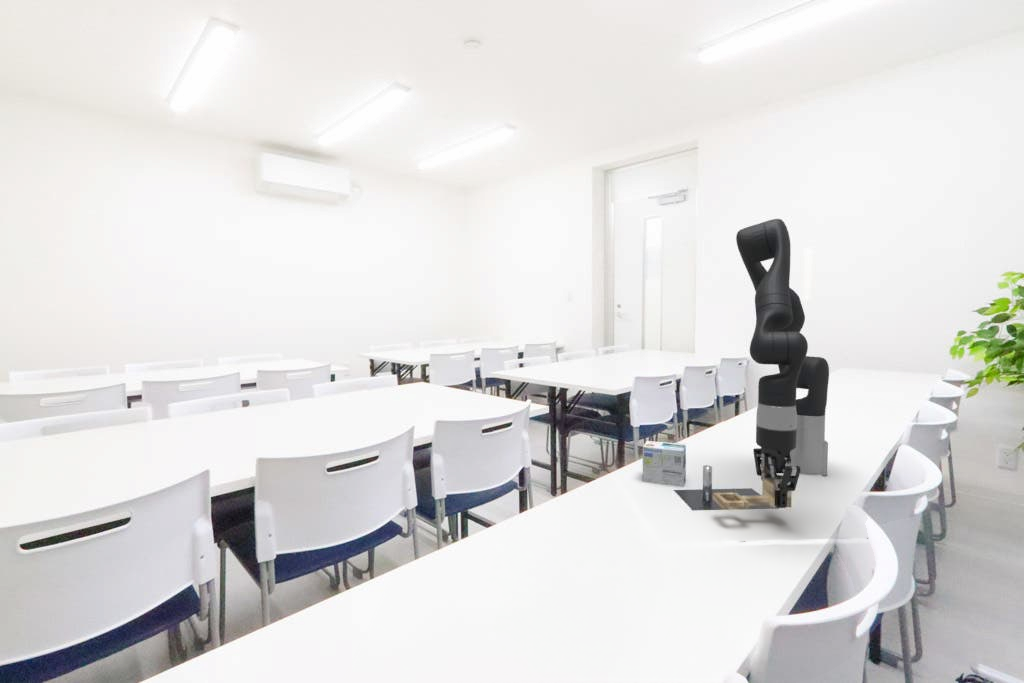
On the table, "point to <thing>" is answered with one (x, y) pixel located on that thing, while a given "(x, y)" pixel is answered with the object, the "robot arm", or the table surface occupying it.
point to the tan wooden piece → (750, 497)
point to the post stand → (704, 497)
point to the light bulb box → (664, 463)
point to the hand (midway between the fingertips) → (774, 502)
